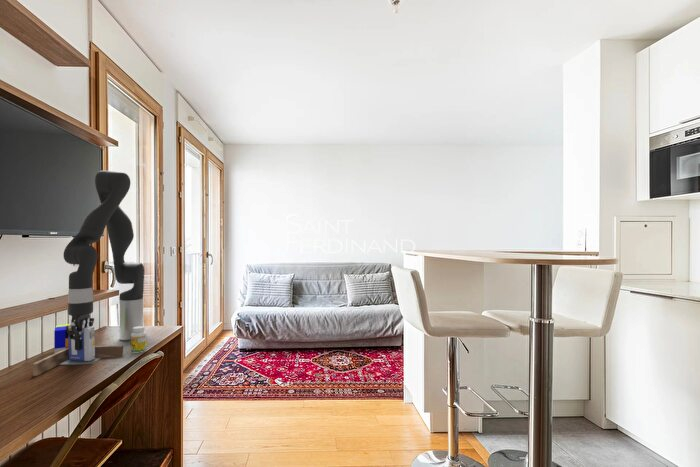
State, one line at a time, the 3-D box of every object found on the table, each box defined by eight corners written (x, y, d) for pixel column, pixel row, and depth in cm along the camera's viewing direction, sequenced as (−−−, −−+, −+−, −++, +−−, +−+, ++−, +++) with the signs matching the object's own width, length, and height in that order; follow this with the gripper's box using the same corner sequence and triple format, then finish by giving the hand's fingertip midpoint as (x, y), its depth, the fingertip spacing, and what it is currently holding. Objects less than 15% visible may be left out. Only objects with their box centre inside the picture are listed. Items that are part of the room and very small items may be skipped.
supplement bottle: (148, 352, 155) (148, 327, 155) (133, 355, 151) (133, 329, 151) (143, 349, 158) (143, 325, 158) (128, 352, 154) (128, 327, 154)
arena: (69, 357, 148) (69, 346, 148) (123, 356, 149) (123, 345, 149) (33, 375, 129) (33, 363, 129) (94, 374, 130) (94, 362, 130)
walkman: (68, 360, 143) (68, 327, 142) (74, 357, 145) (74, 325, 145) (89, 361, 142) (89, 327, 141) (95, 358, 145) (94, 325, 144)
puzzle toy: (54, 357, 147) (54, 330, 147) (56, 351, 156) (56, 325, 156) (86, 353, 153) (86, 327, 153) (86, 347, 161) (86, 322, 161)
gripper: (80, 304, 136) (80, 354, 136) (102, 297, 150) (102, 343, 150) (57, 304, 136) (57, 355, 136) (81, 297, 149) (81, 343, 149)
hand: (80, 348), depth 143 cm, fingers closed on walkman, 2 cm apart
